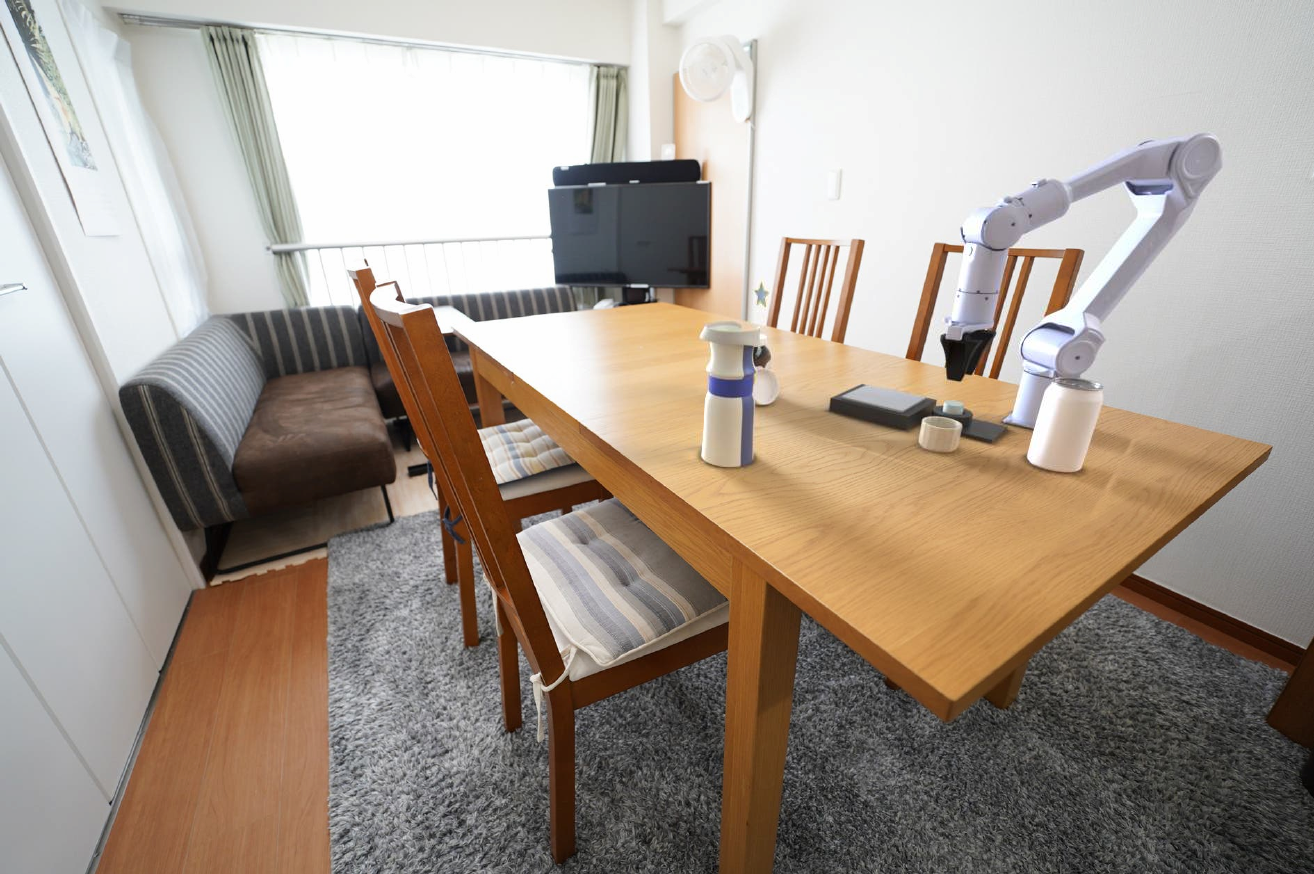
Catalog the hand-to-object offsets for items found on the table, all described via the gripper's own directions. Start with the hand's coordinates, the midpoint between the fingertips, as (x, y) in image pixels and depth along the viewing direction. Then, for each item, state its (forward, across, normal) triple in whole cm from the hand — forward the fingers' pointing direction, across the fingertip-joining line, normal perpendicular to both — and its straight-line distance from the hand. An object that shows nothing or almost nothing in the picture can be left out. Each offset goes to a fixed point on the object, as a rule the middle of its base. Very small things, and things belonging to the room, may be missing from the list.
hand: (959, 377), depth 88 cm
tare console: (+8, 0, +2) cm, 9 cm away
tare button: (+6, 0, 0) cm, 6 cm away
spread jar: (+9, +11, -33) cm, 36 cm away
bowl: (+8, +11, +2) cm, 14 cm away
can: (+9, +6, +16) cm, 19 cm away
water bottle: (+9, +36, -19) cm, 42 cm away
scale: (+8, +2, -11) cm, 14 cm away
